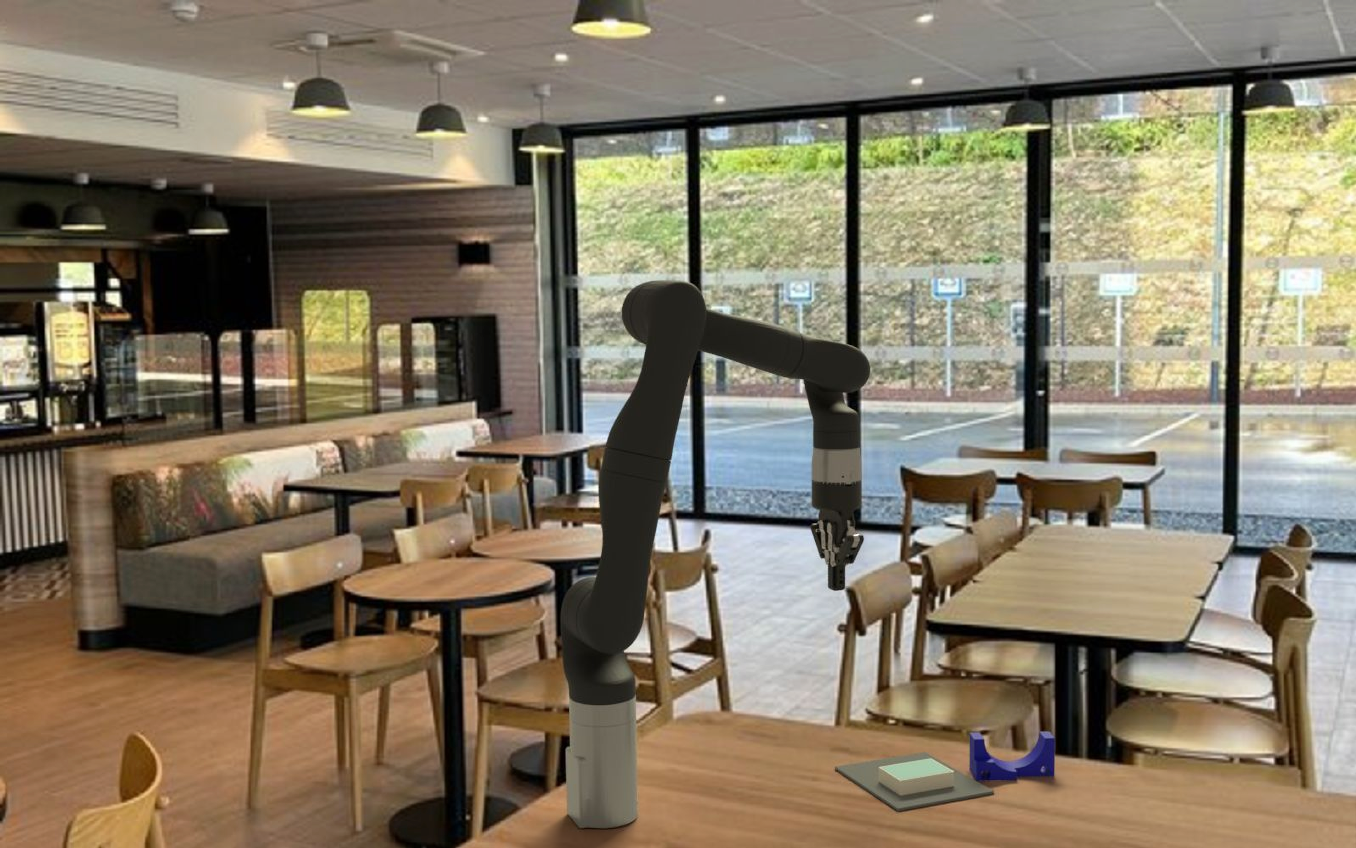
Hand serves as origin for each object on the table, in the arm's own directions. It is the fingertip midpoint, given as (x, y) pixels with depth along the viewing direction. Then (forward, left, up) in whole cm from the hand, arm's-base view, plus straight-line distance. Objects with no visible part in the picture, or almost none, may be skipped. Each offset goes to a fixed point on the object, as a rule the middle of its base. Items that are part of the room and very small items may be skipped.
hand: (836, 589), depth 201 cm
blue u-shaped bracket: (+21, -16, -27) cm, 38 cm away
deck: (+5, -11, -26) cm, 28 cm away
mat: (+6, -12, -27) cm, 30 cm away
